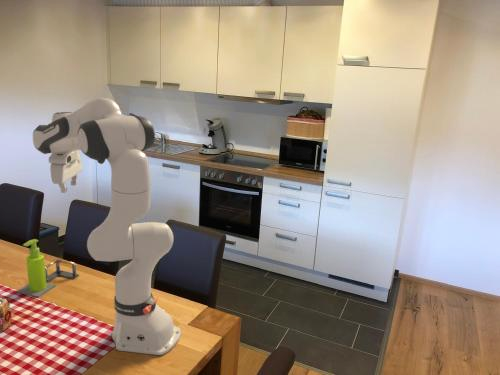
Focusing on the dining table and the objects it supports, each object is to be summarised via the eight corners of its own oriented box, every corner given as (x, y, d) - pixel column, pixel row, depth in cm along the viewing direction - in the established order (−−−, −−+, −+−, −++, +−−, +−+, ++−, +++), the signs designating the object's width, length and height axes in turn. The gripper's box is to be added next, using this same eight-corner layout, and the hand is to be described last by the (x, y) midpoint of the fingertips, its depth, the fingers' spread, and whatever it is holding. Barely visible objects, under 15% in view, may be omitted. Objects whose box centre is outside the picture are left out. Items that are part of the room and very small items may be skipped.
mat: (55, 286, 164) (55, 284, 164) (38, 297, 156) (38, 296, 156) (35, 281, 167) (34, 279, 167) (17, 292, 158) (16, 290, 158)
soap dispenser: (23, 290, 159) (18, 242, 153) (38, 282, 165) (34, 235, 159) (35, 294, 157) (30, 246, 151) (50, 285, 163) (45, 239, 157)
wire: (79, 275, 173) (78, 261, 171) (63, 286, 164) (62, 271, 162) (58, 271, 175) (56, 257, 173) (41, 281, 167) (40, 266, 165)
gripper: (69, 148, 170) (71, 180, 174) (46, 159, 150) (49, 196, 154) (84, 149, 170) (86, 181, 174) (63, 160, 150) (66, 197, 154)
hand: (69, 188), depth 164 cm, fingers open, 8 cm apart
